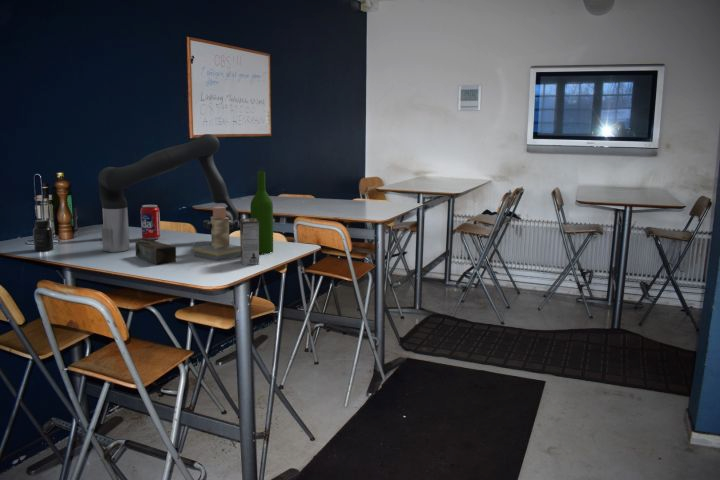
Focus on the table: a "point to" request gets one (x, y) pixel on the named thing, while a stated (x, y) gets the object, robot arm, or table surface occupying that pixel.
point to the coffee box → (249, 240)
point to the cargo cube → (219, 212)
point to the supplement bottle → (43, 236)
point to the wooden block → (220, 233)
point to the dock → (218, 252)
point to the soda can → (150, 222)
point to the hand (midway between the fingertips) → (219, 226)
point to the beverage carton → (155, 252)
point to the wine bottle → (263, 215)
